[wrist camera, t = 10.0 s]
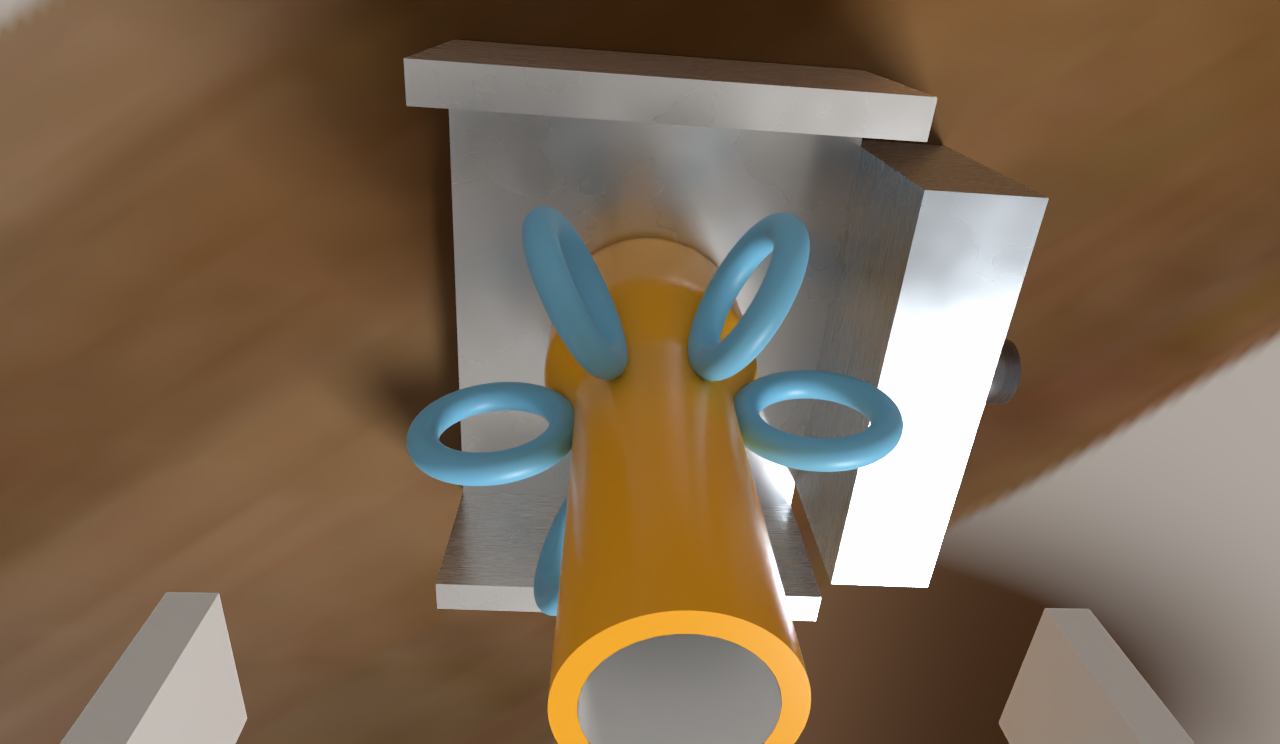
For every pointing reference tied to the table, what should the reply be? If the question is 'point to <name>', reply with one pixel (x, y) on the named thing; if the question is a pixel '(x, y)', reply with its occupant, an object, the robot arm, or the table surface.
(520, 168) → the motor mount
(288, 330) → the table surface
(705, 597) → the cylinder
